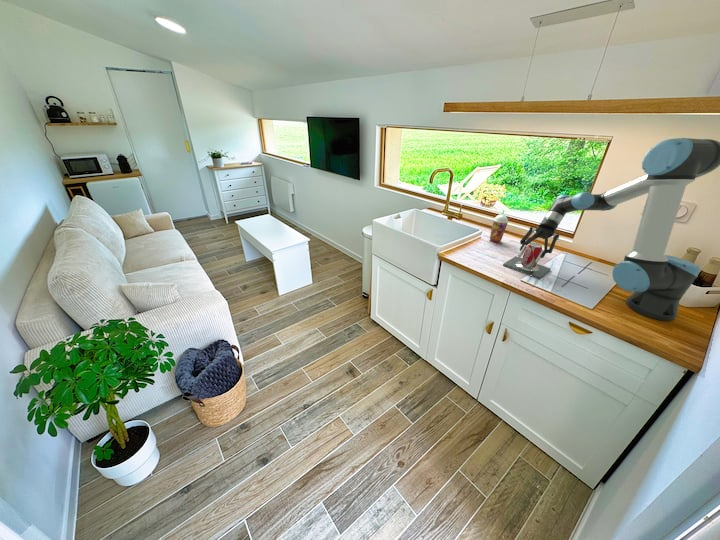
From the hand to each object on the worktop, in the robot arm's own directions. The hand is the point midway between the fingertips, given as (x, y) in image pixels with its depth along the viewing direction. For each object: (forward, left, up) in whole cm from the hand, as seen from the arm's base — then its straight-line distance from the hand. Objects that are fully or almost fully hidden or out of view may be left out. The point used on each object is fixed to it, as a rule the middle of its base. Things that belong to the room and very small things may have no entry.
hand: (527, 259), depth 141 cm
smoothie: (+28, -26, -6) cm, 39 cm away
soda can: (0, -4, -5) cm, 6 cm away
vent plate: (0, -3, -6) cm, 7 cm away
